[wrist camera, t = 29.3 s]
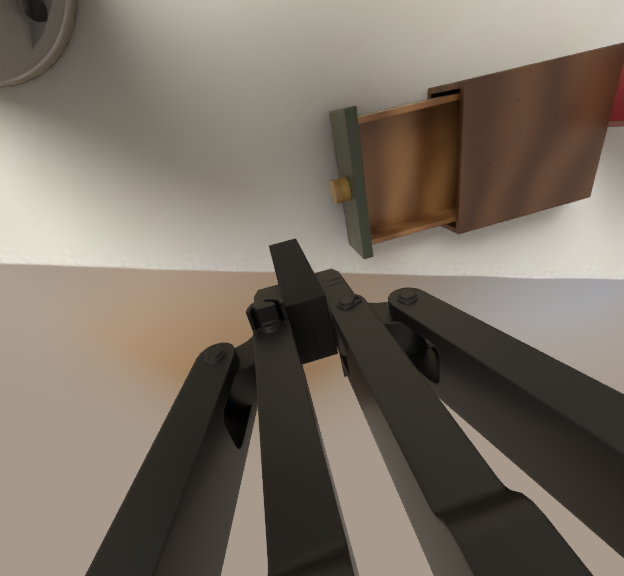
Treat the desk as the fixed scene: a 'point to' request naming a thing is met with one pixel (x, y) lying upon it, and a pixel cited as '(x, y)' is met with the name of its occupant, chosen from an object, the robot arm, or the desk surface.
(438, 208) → the drawer
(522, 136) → the box
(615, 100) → the card box
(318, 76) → the desk surface
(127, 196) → the desk surface
